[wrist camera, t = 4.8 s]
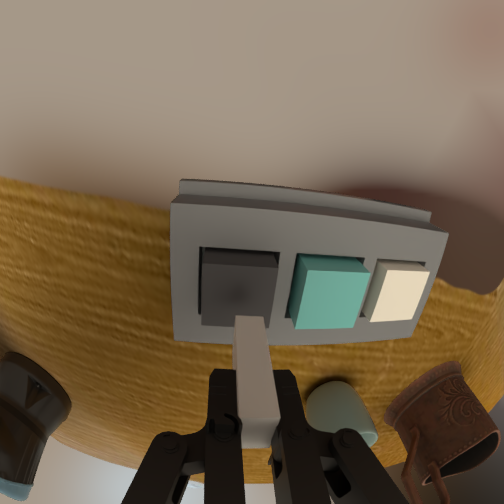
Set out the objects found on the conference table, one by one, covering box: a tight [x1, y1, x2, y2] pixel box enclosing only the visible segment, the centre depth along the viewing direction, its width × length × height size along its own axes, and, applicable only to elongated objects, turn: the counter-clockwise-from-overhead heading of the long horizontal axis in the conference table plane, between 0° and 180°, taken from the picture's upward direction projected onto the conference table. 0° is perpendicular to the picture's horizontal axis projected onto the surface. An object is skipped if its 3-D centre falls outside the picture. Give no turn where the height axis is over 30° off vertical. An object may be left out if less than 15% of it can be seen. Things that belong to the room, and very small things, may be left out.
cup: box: [306, 381, 378, 447], centre depth 29 cm, size 8×8×10 cm
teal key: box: [288, 253, 371, 329], centre depth 21 cm, size 5×5×3 cm
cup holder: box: [384, 361, 501, 504], centre depth 27 cm, size 18×24×25 cm
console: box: [170, 179, 449, 345], centre depth 23 cm, size 24×14×4 cm, turn 84°
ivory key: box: [362, 258, 430, 322], centre depth 22 cm, size 5×5×3 cm
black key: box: [201, 247, 279, 328], centre depth 20 cm, size 5×5×3 cm
